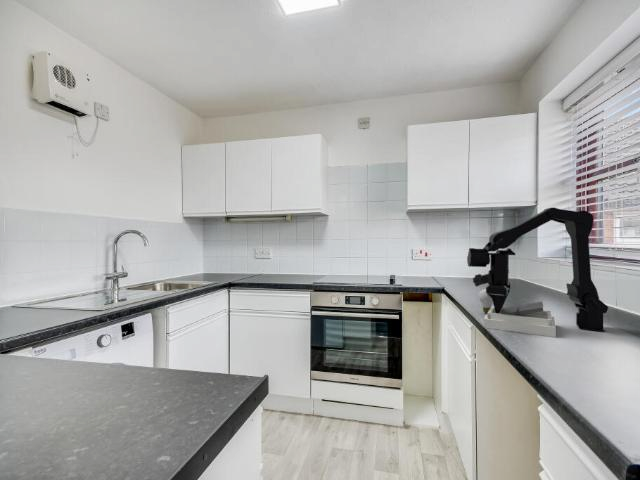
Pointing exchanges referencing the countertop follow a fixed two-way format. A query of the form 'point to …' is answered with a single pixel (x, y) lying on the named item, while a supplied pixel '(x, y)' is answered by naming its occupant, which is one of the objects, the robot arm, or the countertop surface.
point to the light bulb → (485, 300)
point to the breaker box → (522, 322)
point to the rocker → (523, 309)
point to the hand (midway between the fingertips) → (498, 310)
